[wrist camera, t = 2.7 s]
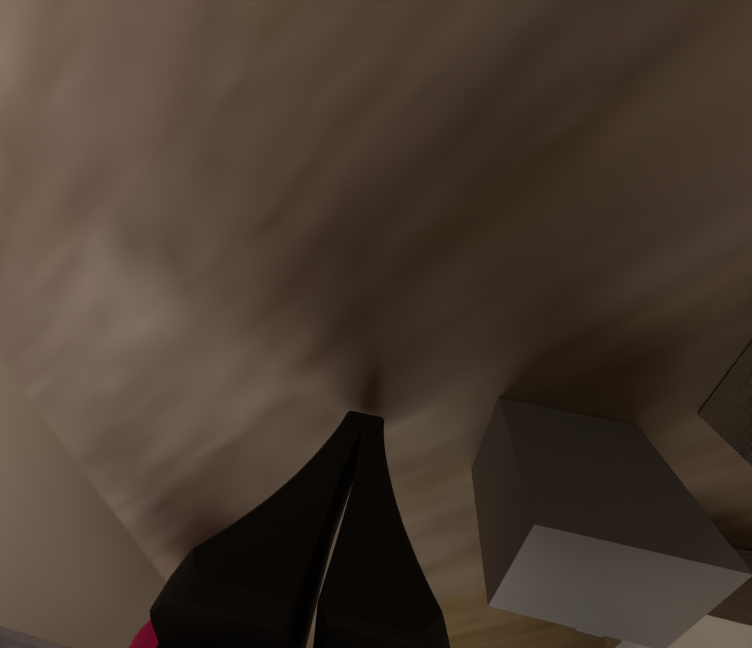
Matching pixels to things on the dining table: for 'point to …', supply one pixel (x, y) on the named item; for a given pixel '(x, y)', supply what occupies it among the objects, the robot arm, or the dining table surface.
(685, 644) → the parallel gray bars
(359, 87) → the dining table surface
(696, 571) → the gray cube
